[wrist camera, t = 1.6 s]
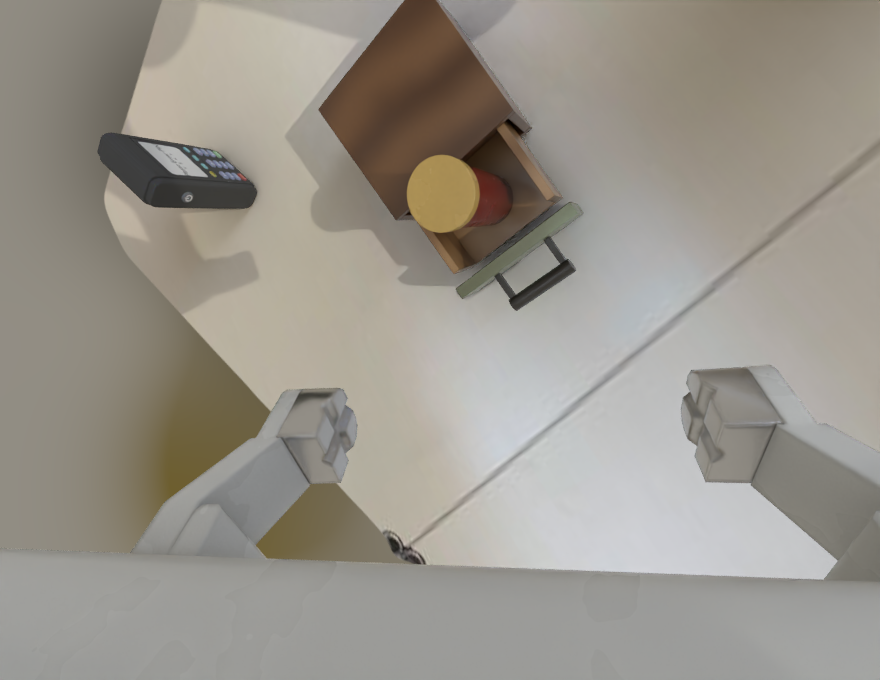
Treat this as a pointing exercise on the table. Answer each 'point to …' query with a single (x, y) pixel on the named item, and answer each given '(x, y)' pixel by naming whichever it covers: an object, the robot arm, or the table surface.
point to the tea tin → (456, 195)
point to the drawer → (509, 220)
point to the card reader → (175, 173)
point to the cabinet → (416, 100)
